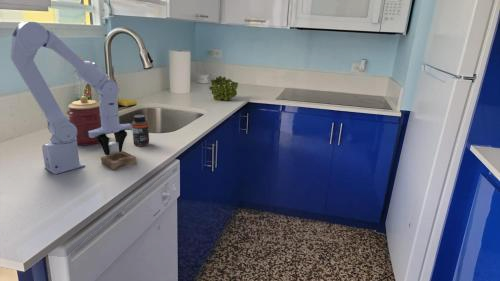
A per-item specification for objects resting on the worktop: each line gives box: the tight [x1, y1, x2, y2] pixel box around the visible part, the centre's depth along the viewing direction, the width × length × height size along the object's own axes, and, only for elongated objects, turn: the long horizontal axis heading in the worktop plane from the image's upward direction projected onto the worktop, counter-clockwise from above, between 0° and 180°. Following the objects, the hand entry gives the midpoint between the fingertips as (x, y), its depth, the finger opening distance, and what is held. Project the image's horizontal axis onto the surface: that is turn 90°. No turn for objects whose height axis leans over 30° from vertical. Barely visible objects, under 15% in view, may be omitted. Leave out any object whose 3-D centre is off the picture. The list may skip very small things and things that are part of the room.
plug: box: [109, 141, 119, 155], centre depth 118 cm, size 4×4×5 cm
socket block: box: [100, 150, 137, 171], centre depth 113 cm, size 8×8×3 cm
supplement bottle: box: [131, 114, 150, 147], centre depth 131 cm, size 6×6×11 cm
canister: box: [66, 95, 101, 146], centre depth 132 cm, size 13×13×18 cm
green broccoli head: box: [209, 75, 239, 101], centre depth 217 cm, size 18×16×16 cm
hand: (113, 153), depth 119 cm, fingers closed on plug, 4 cm apart
